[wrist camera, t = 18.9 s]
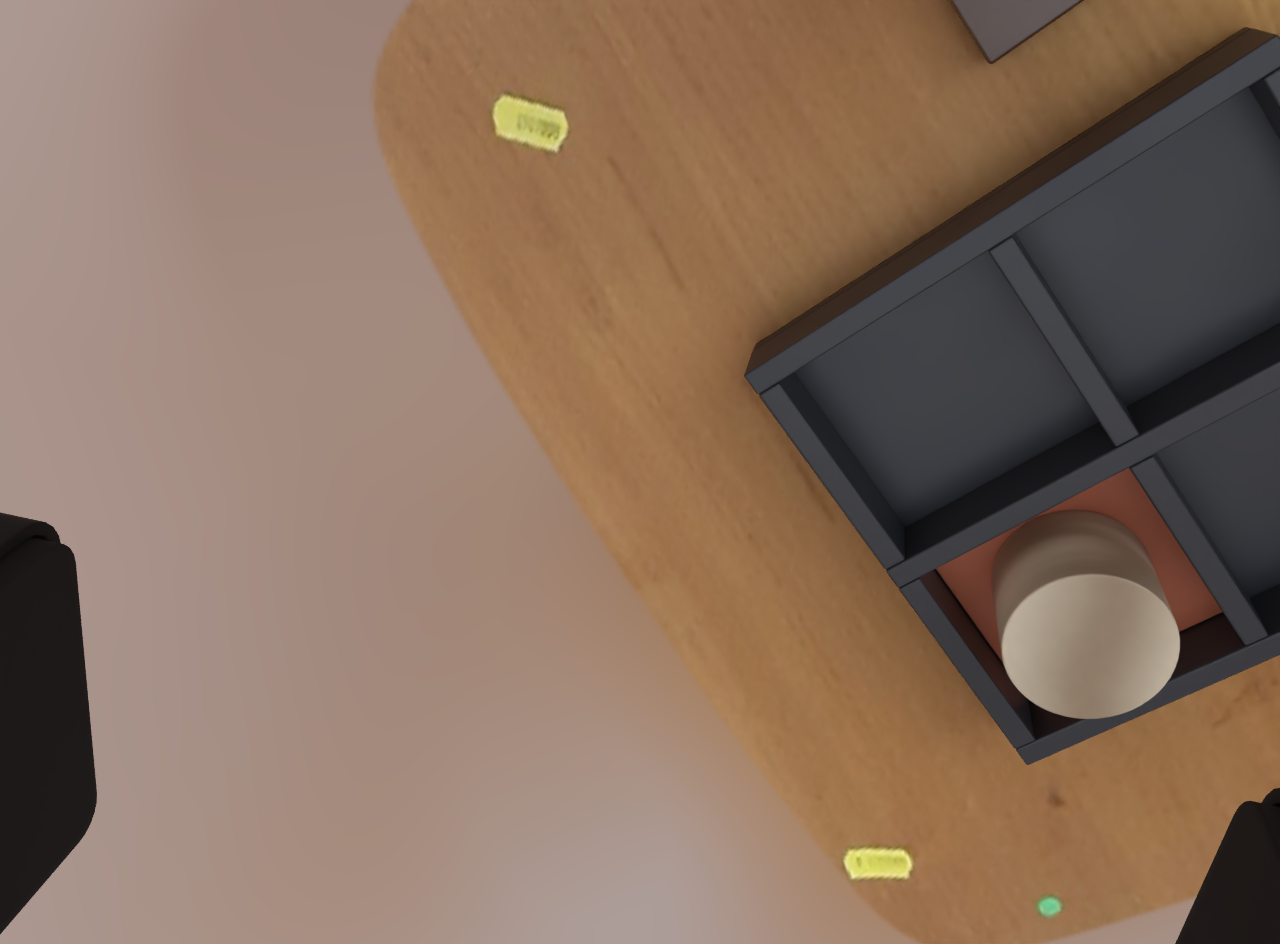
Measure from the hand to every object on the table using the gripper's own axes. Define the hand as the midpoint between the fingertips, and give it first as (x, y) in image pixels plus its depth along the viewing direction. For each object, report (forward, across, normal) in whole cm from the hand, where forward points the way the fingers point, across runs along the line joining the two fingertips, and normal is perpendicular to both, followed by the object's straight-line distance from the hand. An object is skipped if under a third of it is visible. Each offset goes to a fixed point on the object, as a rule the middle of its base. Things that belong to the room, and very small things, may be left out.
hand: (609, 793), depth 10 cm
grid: (+27, -10, +6) cm, 29 cm away
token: (+26, -10, +11) cm, 30 cm away
